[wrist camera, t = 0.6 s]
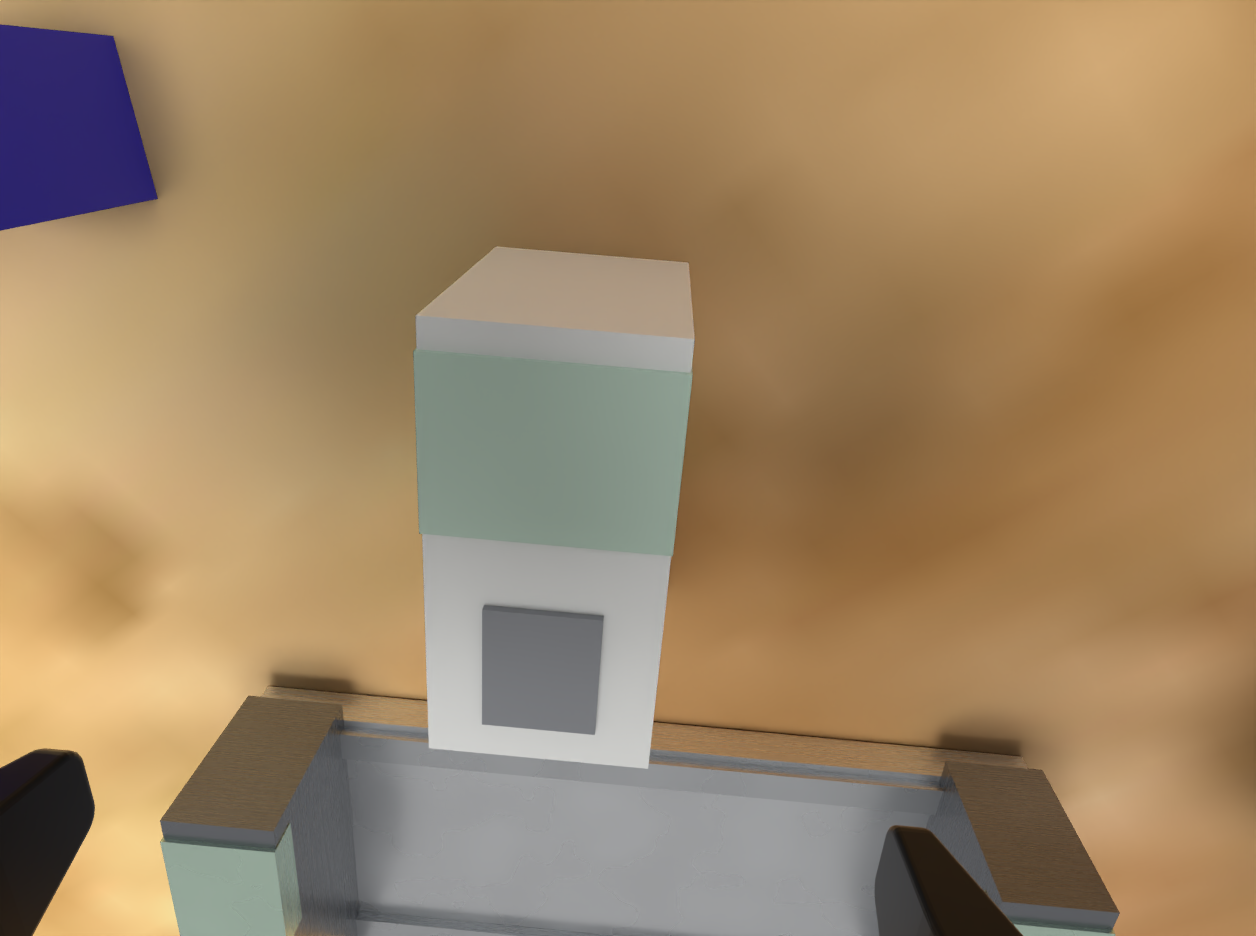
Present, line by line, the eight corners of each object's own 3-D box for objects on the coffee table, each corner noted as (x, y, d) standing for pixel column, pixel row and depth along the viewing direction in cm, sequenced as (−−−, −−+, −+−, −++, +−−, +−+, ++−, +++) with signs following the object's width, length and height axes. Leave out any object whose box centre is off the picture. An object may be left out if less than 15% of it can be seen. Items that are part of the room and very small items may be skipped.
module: (689, 261, 17) (696, 341, 12) (656, 589, 21) (648, 775, 15) (496, 245, 17) (411, 317, 12) (493, 575, 21) (425, 754, 15)
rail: (1027, 741, 22) (1123, 917, 17) (948, 971, 26) (1008, 1167, 21) (265, 671, 22) (156, 824, 18) (295, 907, 26) (212, 1086, 21)
